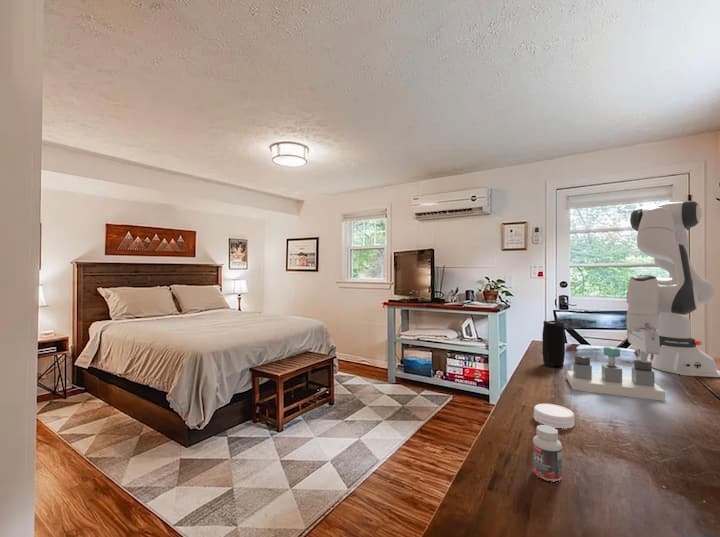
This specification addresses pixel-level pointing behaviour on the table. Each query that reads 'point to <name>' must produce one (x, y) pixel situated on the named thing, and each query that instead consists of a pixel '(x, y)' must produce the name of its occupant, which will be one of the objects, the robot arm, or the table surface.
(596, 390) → the mount panel
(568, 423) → the white jar lid
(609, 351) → the teal dial
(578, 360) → the far knob
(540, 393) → the table surface
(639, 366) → the near knob
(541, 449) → the pill bottle
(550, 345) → the portable speaker
